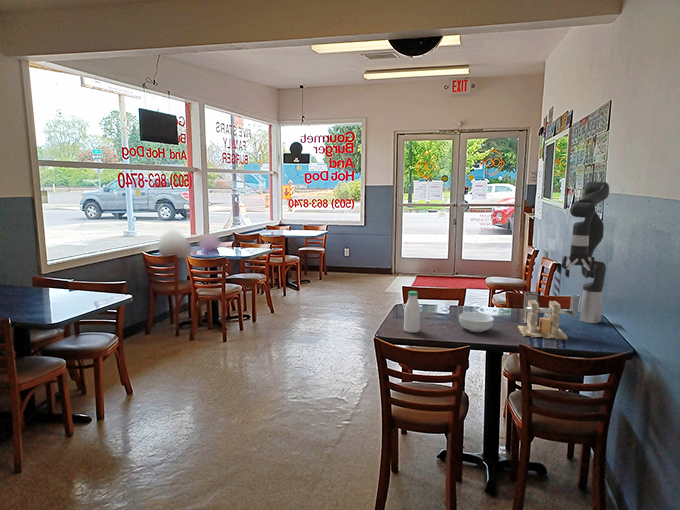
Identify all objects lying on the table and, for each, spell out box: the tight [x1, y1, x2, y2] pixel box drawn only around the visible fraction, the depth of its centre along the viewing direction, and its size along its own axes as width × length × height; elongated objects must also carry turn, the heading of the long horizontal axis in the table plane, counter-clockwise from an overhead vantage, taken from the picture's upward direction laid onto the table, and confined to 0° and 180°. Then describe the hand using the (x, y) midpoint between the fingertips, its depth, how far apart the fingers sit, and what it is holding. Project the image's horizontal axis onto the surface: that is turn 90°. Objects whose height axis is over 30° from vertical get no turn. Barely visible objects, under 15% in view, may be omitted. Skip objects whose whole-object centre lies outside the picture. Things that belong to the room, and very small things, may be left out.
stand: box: [517, 300, 568, 341], centre depth 242 cm, size 20×14×16 cm
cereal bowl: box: [458, 311, 495, 333], centre depth 247 cm, size 17×17×7 cm
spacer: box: [538, 317, 551, 333], centre depth 242 cm, size 4×6×6 cm, turn 172°
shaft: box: [526, 294, 580, 318], centre depth 241 cm, size 23×4×10 cm, turn 82°
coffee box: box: [522, 291, 541, 325], centre depth 262 cm, size 9×6×16 cm
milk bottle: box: [403, 290, 421, 334], centre depth 243 cm, size 8×8×20 cm
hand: (576, 277), depth 237 cm, fingers open, 8 cm apart
